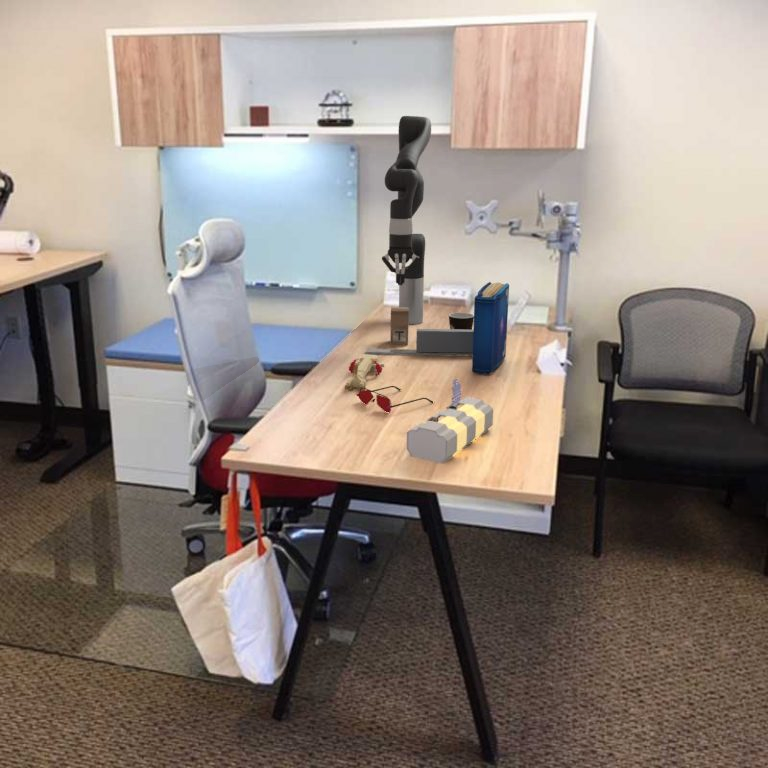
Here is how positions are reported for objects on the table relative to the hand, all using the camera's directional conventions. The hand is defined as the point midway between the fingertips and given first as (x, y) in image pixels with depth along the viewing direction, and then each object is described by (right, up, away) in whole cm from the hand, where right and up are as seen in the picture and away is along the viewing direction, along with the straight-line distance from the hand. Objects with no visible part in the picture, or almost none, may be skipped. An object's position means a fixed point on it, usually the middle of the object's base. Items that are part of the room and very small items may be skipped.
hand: (400, 284), depth 272 cm
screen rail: (+9, -23, -2) cm, 25 cm away
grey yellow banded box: (+11, -47, -77) cm, 91 cm away
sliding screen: (+16, -23, -3) cm, 28 cm away
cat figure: (-11, -32, -29) cm, 44 cm away
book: (+27, -28, -16) cm, 42 cm away
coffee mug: (+21, -19, +12) cm, 31 cm away
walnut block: (0, -19, +10) cm, 21 cm away
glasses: (-2, -39, -49) cm, 63 cm away
